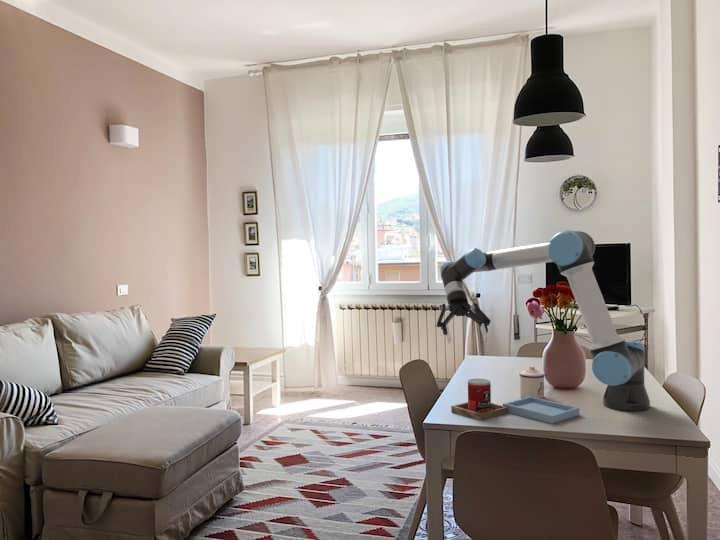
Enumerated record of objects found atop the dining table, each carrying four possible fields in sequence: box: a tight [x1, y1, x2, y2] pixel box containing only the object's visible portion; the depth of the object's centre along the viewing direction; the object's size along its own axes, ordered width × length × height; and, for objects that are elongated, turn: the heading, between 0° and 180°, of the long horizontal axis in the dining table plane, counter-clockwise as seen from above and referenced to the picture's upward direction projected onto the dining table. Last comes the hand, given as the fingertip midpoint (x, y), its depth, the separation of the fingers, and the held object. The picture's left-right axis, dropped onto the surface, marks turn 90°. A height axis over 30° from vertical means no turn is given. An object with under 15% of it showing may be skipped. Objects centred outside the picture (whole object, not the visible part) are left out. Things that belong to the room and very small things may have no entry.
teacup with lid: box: [519, 365, 545, 399], centre depth 224 cm, size 12×9×12 cm
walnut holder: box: [450, 401, 509, 421], centre depth 204 cm, size 14×14×2 cm
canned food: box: [467, 378, 492, 413], centre depth 204 cm, size 8×8×11 cm
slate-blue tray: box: [502, 397, 580, 424], centre depth 202 cm, size 20×15×2 cm
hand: (468, 340), depth 214 cm, fingers open, 13 cm apart
